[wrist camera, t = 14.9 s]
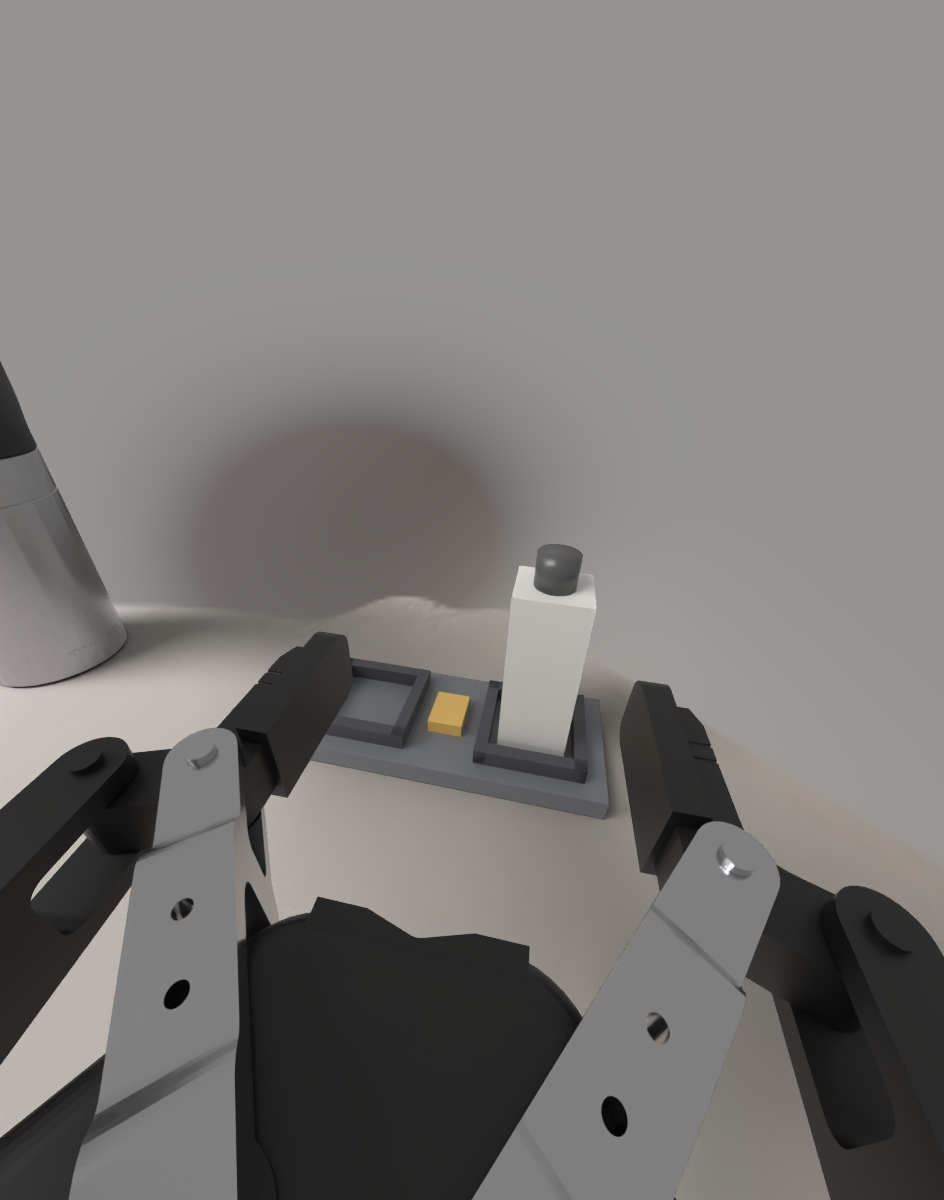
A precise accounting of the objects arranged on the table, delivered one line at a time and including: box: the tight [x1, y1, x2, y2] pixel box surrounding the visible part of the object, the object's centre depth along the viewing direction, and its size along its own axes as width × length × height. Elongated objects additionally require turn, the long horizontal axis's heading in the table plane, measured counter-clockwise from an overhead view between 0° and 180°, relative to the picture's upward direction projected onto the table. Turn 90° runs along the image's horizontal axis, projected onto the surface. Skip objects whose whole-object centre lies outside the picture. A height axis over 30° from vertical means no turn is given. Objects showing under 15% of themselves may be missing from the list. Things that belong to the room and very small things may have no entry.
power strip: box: [310, 658, 609, 819], centre depth 30 cm, size 22×9×3 cm, turn 79°
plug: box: [497, 544, 597, 757], centre depth 26 cm, size 4×4×14 cm
